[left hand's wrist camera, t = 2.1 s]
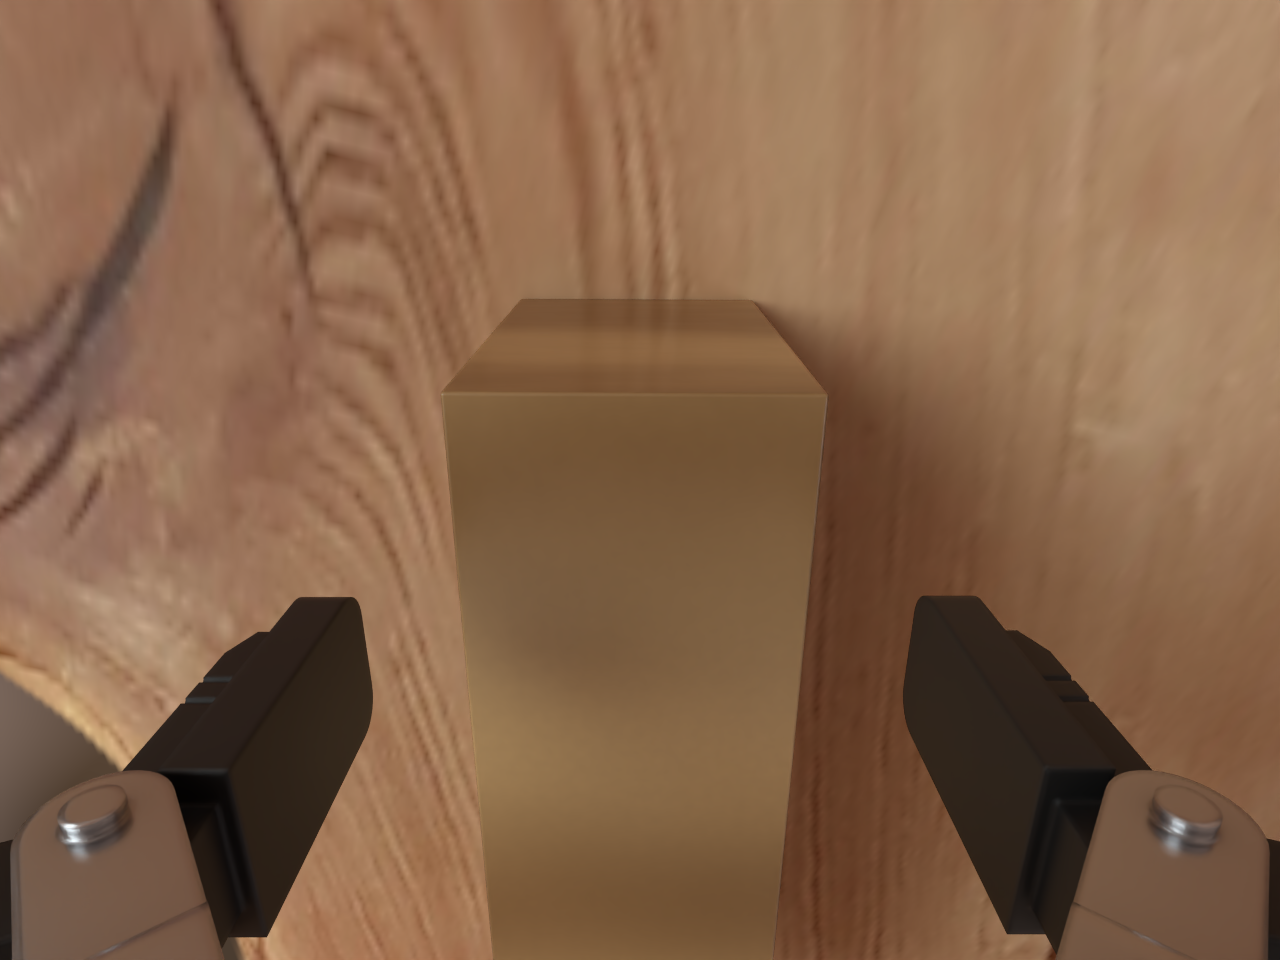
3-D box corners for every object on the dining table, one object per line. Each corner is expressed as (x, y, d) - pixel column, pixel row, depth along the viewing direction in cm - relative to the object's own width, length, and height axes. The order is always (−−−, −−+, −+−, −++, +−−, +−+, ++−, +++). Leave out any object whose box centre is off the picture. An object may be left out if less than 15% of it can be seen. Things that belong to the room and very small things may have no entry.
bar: (520, 298, 20) (439, 392, 12) (752, 299, 20) (829, 393, 12) (551, 916, 28) (516, 1220, 20) (716, 917, 28) (747, 1221, 20)
